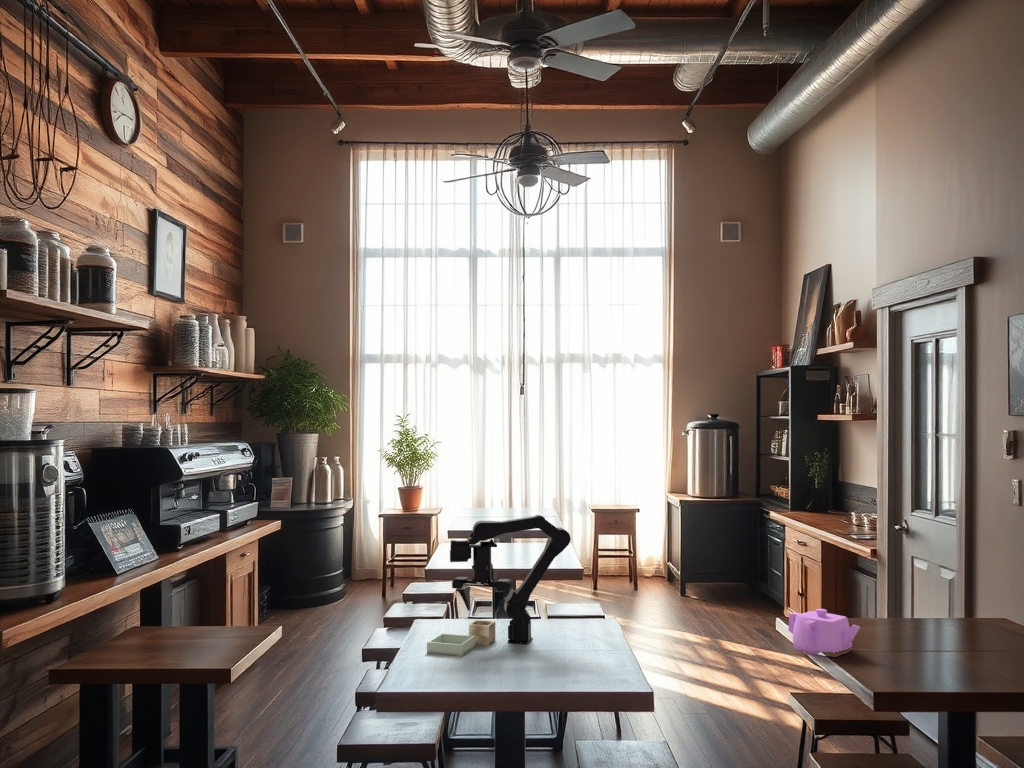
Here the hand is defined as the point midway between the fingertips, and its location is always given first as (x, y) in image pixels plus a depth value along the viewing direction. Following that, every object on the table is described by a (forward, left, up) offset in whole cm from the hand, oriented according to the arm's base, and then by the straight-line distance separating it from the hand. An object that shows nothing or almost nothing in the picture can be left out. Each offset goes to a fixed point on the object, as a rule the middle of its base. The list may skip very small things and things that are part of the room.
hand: (482, 611), depth 258 cm
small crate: (0, 0, -10) cm, 10 cm away
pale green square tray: (+6, +11, -10) cm, 16 cm away
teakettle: (-102, -22, -10) cm, 105 cm away
